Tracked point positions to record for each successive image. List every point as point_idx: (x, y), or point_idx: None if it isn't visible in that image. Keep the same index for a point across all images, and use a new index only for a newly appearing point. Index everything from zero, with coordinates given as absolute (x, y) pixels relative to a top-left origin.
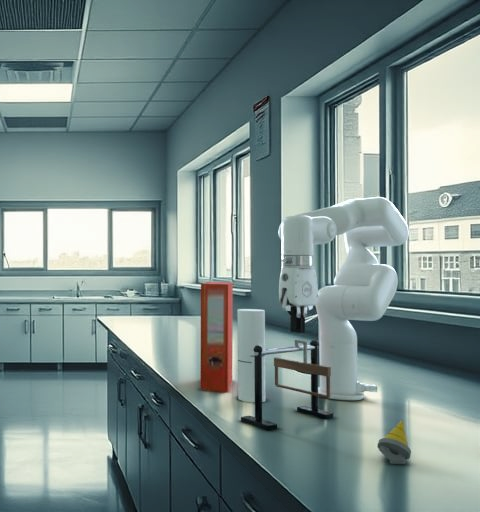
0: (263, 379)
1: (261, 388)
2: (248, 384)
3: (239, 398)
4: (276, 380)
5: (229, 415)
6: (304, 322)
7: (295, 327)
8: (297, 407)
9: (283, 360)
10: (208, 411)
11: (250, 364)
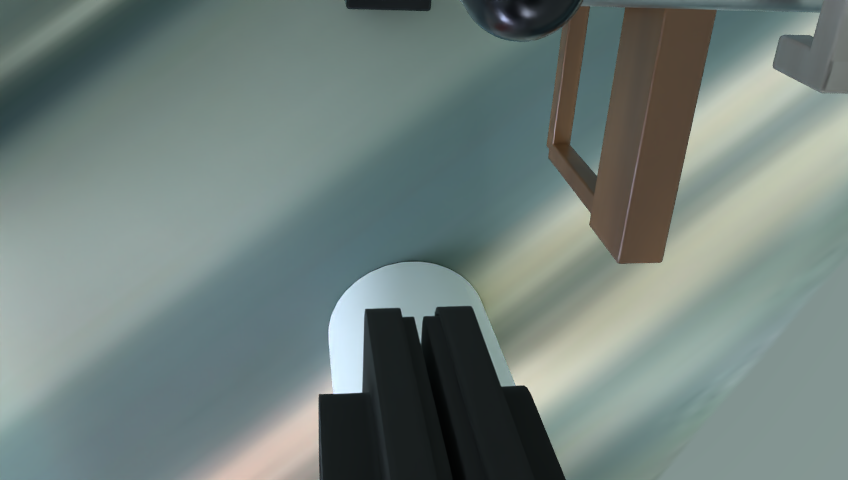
0: None
1: None
2: (504, 358)
3: None
4: (580, 157)
5: (826, 141)
6: (402, 418)
7: (526, 413)
8: (430, 5)
9: (682, 149)
10: (832, 245)
11: None
